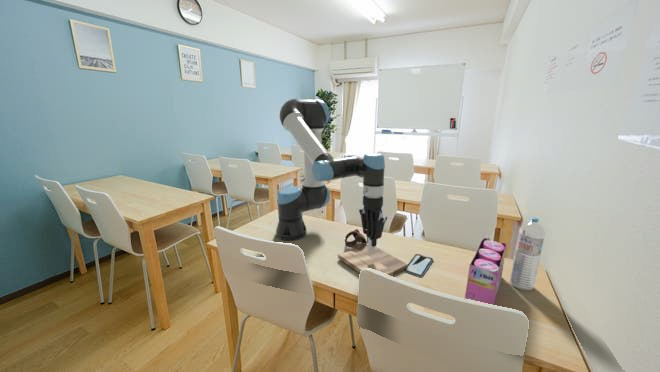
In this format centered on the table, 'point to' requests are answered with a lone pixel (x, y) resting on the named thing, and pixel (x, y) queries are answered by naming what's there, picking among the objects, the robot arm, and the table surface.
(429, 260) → the smartphone
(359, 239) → the pottery mug
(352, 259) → the plank
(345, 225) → the table surface
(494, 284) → the gum box
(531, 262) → the water bottle
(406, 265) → the floor boards
